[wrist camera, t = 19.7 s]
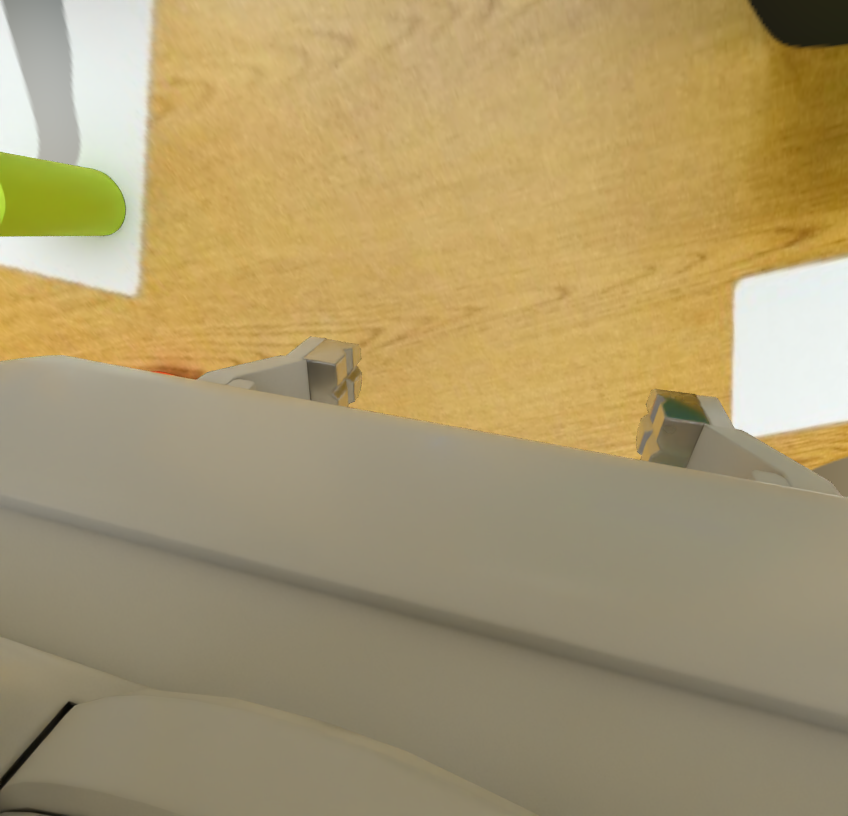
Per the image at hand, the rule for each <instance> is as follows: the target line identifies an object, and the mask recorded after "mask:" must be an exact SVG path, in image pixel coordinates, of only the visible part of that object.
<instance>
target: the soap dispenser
mask: <svg viewBox="0 0 848 816" xmlns="http://www.w3.org/2000/svg"><path fill="white" fill-rule="evenodd" d="M124 218H125V202H124V199H123V196H122V193H121V191H120V190H119V188H118V186H117V185H116V184H115V183H114V181H113V180H112V179H111V178H109V177H108V176H107V175H105V174H104V173H102V172H100V171H98V170H95V169H90V168H85V167H80V166H74V165H69V164H63V163H58V162H52V161H47V160H41V159H36V158H30V157H25V156H20V155H14V154H9V153H3V152H0V236H105V235H110V234H112V233H114V232H115V231H117V230H118V229H119V228H120V226H121V225H122V223H123V221H124Z"/></svg>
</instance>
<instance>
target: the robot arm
mask: <svg viewBox="0 0 848 816" xmlns="http://www.w3.org/2000/svg"><path fill="white" fill-rule="evenodd" d="M360 360H361V348H360V346H359V344H353V343H347V342H341V341H335V340H329V339H326V338H318V337H309V338H308V339H306V340H305V341H304V342H303V343H301V344H300V345H299V346H297V347H296V348H295V349H294V350H292V351H291V352H290V353H289V354H287V355H286V356H281V355H280V356H276V357H271V358H267V359H263V360H258V361H254V362H250V363H245V364H241V365H237V366H232V367H228V368H224V369H219V370H215V371H211V372H207V373H206V374H204V375H203V376H201V377H200V378H198V379H197V380H195V379H189V378H184V377H178V376H173V375H167V374H161V373H156V372H150V371H145V370H139V369H134V368H128V367H123V366H117V365H112V364H106V363H101V362H95V361H90V360H85V359H81V358H76V357H70V356H63V355H51V356H38V357H29V358H20V359H13V360H6V361H0V816H848V497H842V496H841V495H840V493H839V492H838V491H837V489H836V488H835V487H834V485H833V484H832V482H830V481H828V480H826V479H825V478H823V477H821V476H820V475H818V474H816V473H814V472H813V471H811V470H809V469H808V468H806V467H804V466H802V465H801V464H799V463H797V462H796V461H794V460H792V459H790V458H789V457H787V456H785V455H784V454H782V453H780V452H778V451H777V450H775V449H773V448H772V447H770V446H768V445H766V444H765V443H763V442H761V441H760V440H758V439H756V438H754V437H753V436H751V435H749V434H748V433H746V432H744V431H742V430H738V429H735V428H734V426H733V424H732V423H731V421H730V419H729V417H728V416H727V414H726V412H725V410H724V409H723V407H722V405H721V403H720V401H719V400H718V398H715V397H709V396H701V395H696V394H689V393H682V392H674V391H666V390H659V389H654V390H652V391H651V393H650V395H649V397H648V400H647V403H646V407H647V410H648V414H647V415H645V416H644V417H643V418H641V420H640V424H639V427H638V431H637V437H636V448H637V452H638V453H639V454H640V455H641V459H640V460H638V459H632V458H627V457H621V456H616V455H610V454H604V453H599V452H593V451H588V450H582V449H577V448H571V447H566V446H560V445H555V444H549V443H544V442H538V441H532V440H527V439H521V438H516V437H510V436H505V435H499V434H494V433H488V432H483V431H477V430H471V429H466V428H460V427H455V426H449V425H444V424H438V423H433V422H427V421H422V420H416V419H411V418H405V417H399V416H394V415H388V414H383V413H377V412H372V411H366V410H361V409H355V408H350V407H348V404H350V403H352V402H355V400H356V399H357V398H358V396H359V393H360V390H361V384H362V372H361V371H360V369H359V368H358V366H357V364H358V363H359V362H360Z"/></svg>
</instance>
